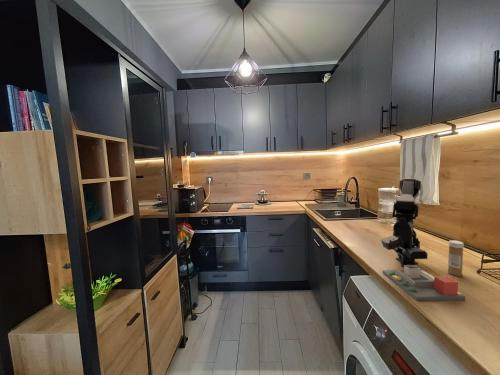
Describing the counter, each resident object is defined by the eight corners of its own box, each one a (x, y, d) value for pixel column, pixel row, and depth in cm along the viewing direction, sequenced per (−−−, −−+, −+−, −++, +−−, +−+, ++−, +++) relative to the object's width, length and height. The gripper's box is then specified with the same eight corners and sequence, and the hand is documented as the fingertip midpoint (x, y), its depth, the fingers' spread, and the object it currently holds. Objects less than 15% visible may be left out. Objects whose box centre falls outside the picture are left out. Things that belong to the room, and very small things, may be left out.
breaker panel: (382, 273, 97) (382, 265, 97) (421, 272, 97) (421, 264, 96) (416, 300, 77) (416, 291, 77) (464, 299, 77) (465, 290, 76)
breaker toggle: (403, 274, 92) (404, 264, 92) (414, 274, 92) (415, 264, 92) (408, 278, 89) (409, 268, 89) (420, 278, 89) (420, 267, 89)
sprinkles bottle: (464, 275, 93) (466, 242, 92) (458, 277, 91) (460, 244, 90) (451, 270, 97) (452, 239, 96) (444, 272, 95) (446, 241, 94)
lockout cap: (433, 288, 82) (434, 276, 81) (446, 287, 82) (447, 276, 81) (444, 295, 77) (444, 282, 77) (457, 294, 77) (458, 282, 77)
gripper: (372, 225, 104) (372, 258, 105) (398, 237, 85) (397, 278, 86) (398, 224, 104) (397, 258, 105) (429, 237, 85) (427, 278, 86)
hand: (403, 267), depth 96 cm, fingers closed
